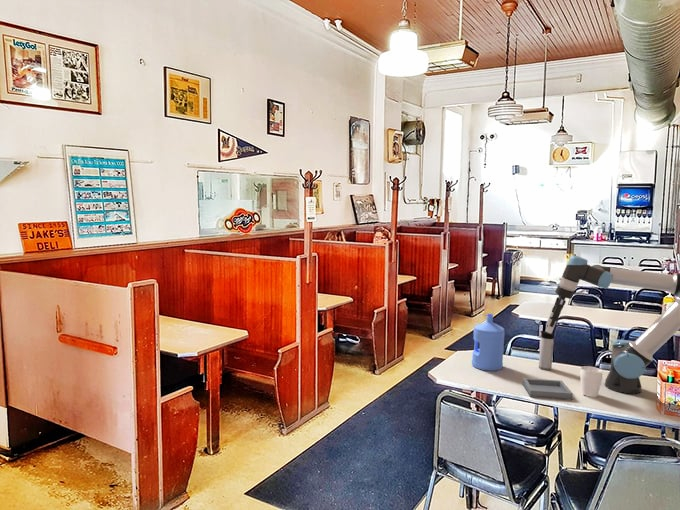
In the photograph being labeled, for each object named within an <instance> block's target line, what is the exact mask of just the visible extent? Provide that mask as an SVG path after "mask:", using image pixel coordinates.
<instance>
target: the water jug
mask: <svg viewBox="0 0 680 510" xmlns="http://www.w3.org/2000/svg"><path fill="white" fill-rule="evenodd" d="M493 319H494V314H492V313H486V321H484V322H481V323H478V324H475V326H474V327H473V340H474V346H473V351H472V357H471V358H472V359H471V365H472V366H473V367H474V368H476V369H479V370H483V371H487V372H489V371H490V372H493V371H496V372H497V371H500V370H502V368H503V365H504V363H503V359H504V350H505V349H504V343H505V328H504V327H503V326H501V325H499V324H497V323H495V322H493V321H494V320H493ZM478 347H479V348H478Z"/></svg>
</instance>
